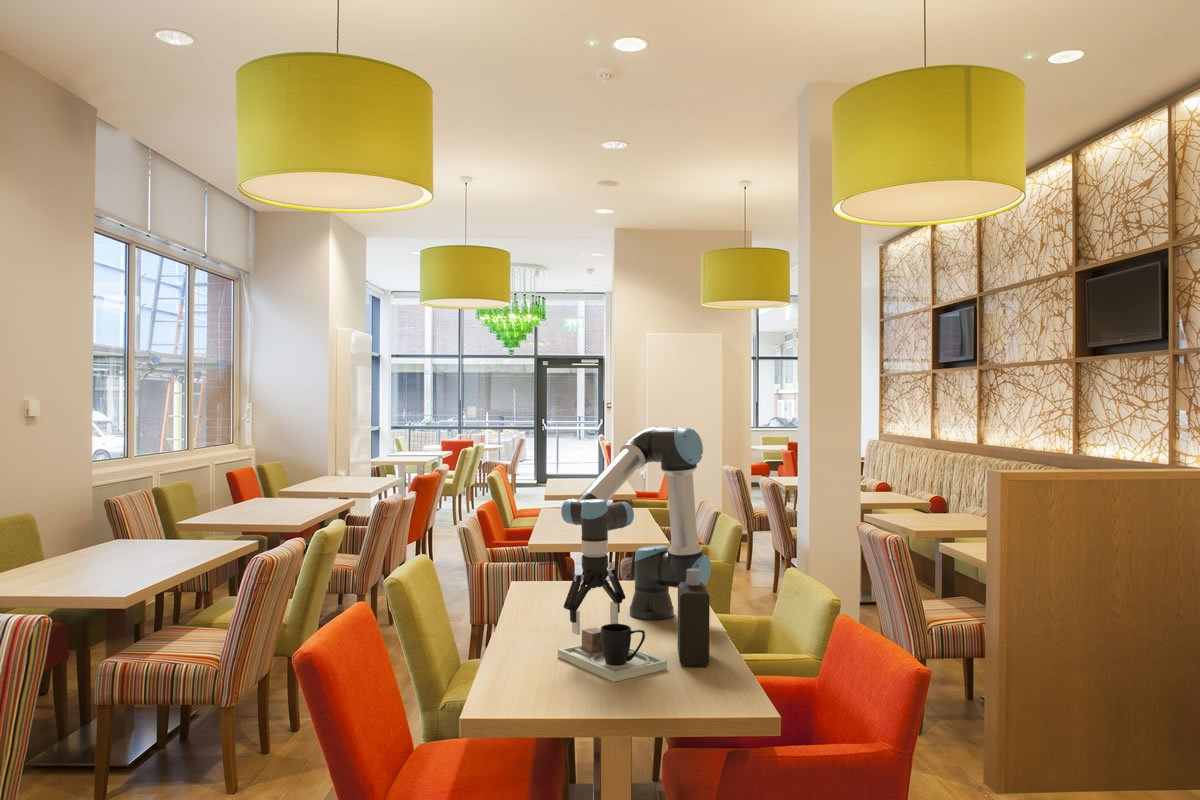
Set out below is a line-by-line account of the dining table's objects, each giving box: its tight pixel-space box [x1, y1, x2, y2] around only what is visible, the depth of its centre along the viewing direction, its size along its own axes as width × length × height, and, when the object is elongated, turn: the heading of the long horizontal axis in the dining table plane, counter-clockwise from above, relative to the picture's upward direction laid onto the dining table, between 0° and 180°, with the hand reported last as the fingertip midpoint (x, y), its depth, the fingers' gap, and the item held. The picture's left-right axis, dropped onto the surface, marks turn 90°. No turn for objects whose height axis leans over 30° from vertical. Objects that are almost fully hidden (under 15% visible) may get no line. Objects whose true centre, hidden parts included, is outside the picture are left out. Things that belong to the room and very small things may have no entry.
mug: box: [600, 623, 646, 666], centre depth 223 cm, size 8×12×10 cm
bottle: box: [677, 568, 711, 668], centre depth 231 cm, size 8×16×25 cm, turn 177°
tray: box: [557, 644, 668, 683], centre depth 227 cm, size 18×26×2 cm
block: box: [581, 626, 603, 654], centre depth 233 cm, size 5×5×6 cm
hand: (595, 629), depth 234 cm, fingers open, 13 cm apart
